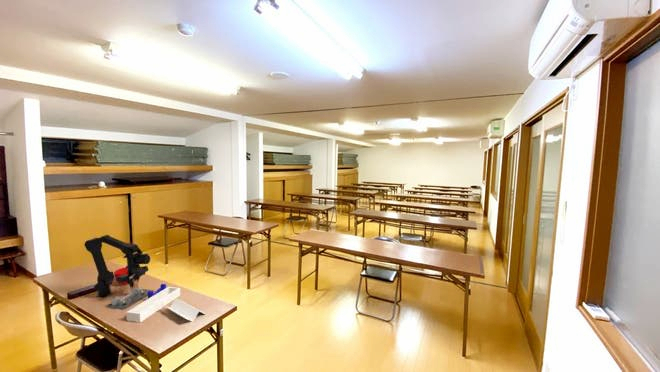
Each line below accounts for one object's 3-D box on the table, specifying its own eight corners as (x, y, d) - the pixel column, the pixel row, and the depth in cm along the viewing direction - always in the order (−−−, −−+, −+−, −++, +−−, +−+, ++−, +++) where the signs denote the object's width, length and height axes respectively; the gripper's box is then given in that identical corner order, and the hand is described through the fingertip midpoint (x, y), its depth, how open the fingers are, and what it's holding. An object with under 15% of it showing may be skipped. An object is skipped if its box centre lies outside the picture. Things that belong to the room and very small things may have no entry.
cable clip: (160, 291, 188) (160, 283, 187) (166, 292, 187) (166, 284, 186) (146, 300, 176) (145, 291, 175) (152, 301, 175) (151, 292, 174)
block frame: (126, 320, 154) (126, 312, 154) (168, 293, 185) (168, 286, 184) (140, 322, 153) (139, 313, 152) (180, 295, 183) (180, 288, 182)
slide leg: (130, 293, 181) (129, 280, 180) (134, 291, 184) (133, 278, 183) (140, 294, 179) (139, 282, 178) (144, 292, 182) (143, 280, 181)
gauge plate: (107, 307, 167) (107, 300, 167) (138, 290, 189) (138, 283, 188) (123, 309, 165) (123, 302, 164) (153, 292, 186) (153, 285, 186)
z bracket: (176, 311, 171) (183, 301, 175) (199, 324, 158) (206, 314, 161) (161, 304, 163) (168, 294, 167) (184, 318, 150) (191, 307, 153)
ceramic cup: (126, 277, 209) (125, 264, 208) (141, 281, 203) (140, 268, 202) (107, 284, 197) (106, 271, 196) (122, 288, 191) (121, 275, 190)
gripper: (129, 270, 169) (131, 294, 171) (154, 259, 187) (155, 281, 189) (115, 269, 171) (116, 292, 173) (140, 258, 189) (142, 279, 191)
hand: (134, 286), depth 181 cm, fingers closed on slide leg, 3 cm apart
